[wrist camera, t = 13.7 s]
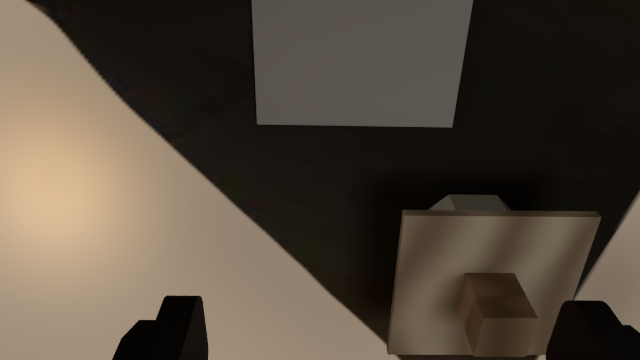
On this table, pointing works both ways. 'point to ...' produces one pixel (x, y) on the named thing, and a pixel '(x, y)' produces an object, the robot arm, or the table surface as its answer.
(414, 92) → the mat
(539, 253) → the lid
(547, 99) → the table surface
